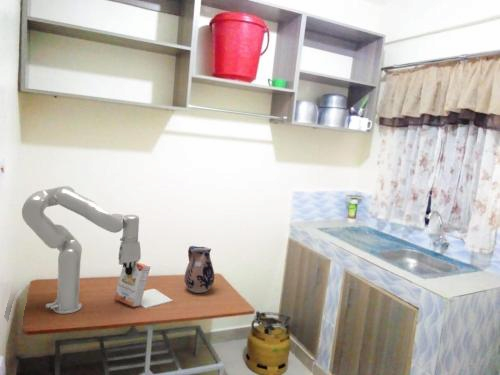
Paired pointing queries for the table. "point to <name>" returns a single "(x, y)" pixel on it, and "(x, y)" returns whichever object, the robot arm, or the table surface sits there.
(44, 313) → the table surface
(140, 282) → the cracker box
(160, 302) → the mat
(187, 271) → the ceramic pitcher
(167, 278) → the table surface
